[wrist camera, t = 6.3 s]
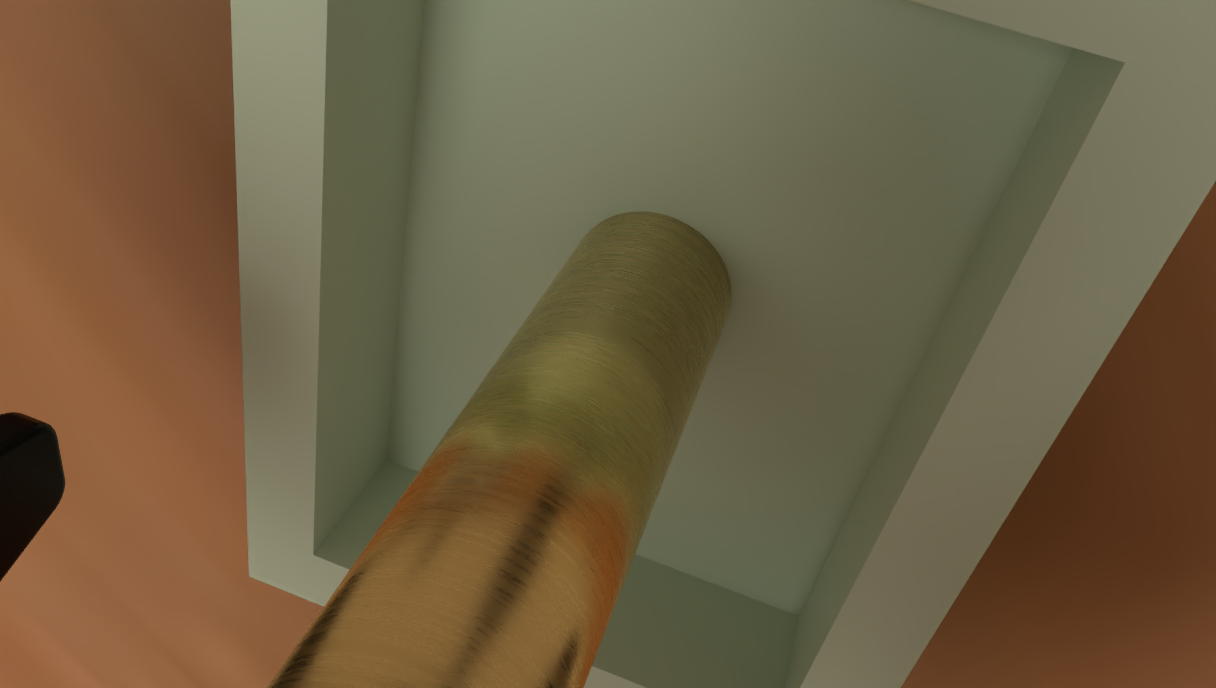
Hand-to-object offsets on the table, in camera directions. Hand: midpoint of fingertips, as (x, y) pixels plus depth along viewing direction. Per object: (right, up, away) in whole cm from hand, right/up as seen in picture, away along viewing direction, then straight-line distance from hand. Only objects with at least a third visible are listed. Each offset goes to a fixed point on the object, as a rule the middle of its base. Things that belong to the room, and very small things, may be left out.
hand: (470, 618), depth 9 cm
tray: (+2, +4, +6) cm, 7 cm away
